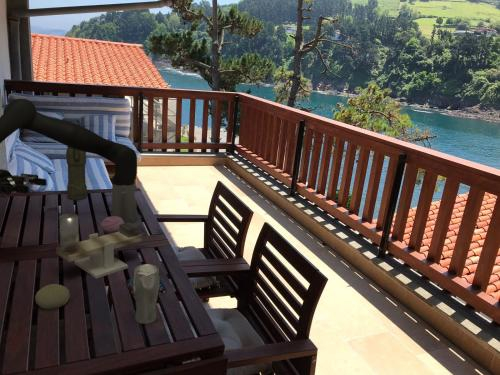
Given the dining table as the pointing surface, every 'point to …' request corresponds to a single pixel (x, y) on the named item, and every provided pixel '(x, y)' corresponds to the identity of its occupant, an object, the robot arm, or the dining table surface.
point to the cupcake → (111, 224)
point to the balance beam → (104, 242)
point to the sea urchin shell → (52, 296)
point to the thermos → (76, 174)
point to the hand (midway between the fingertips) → (37, 186)
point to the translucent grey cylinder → (69, 232)
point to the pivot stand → (101, 261)
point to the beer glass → (146, 292)
